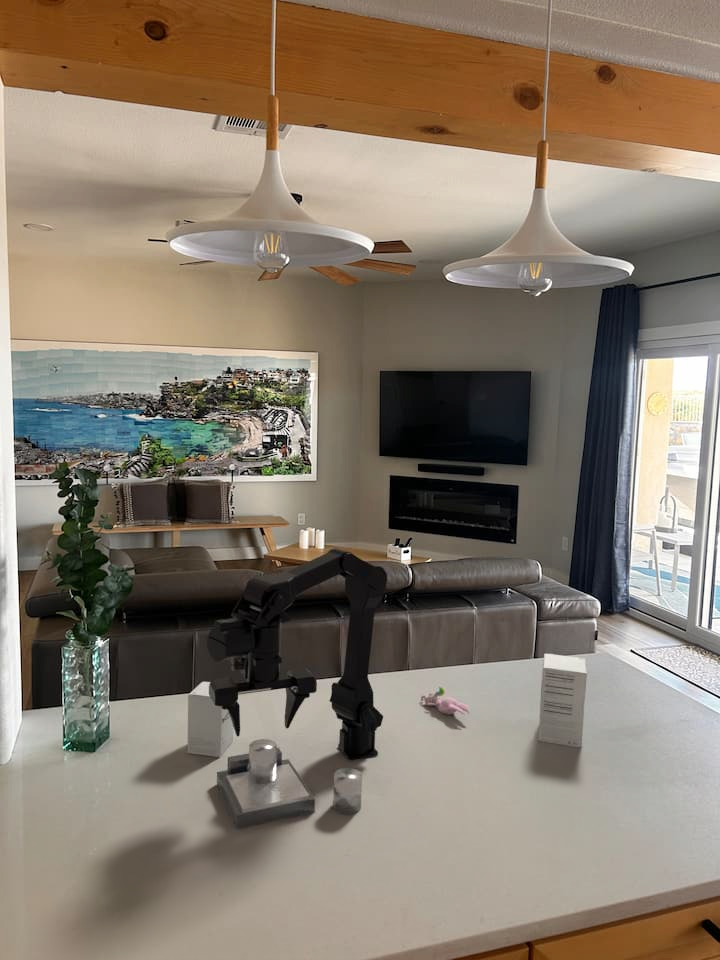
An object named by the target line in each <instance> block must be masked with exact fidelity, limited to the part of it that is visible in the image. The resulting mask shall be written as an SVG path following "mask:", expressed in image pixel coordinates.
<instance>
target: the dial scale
mask: <svg viewBox="0 0 720 960" xmlns="http://www.w3.org/2000/svg"><path fill="white" fill-rule="evenodd" d="M216 785H217V787H218V790H219V792H220V795H221V797H222V799H223V801H224V803H225V806H226V808H227V810H228V812H229V815H230V816H231V819H232V821H233V824H234V826H235V828H236V829H242V828H248V827H253V826H256V825H262V824H265V823H270V822H274V821H279V820H283V819H288V818H292V817H297V816H298V817H299V816H302V815H307V814H311V813H315V811H316V808H315V807H316V798H315V797H314V795H313V794H312V792H311V790H310V789H309V788H308V787H307V784H306V783H305V781H304V780H303V779H302V777H301V776H300V774H299V773H298V771H297V770H296V768H295V767H294V765H293V764H292V762H291V760H290V759H288V758H286V759H283V752H282V751H281V749H280V747H277V763H276V779H275V780H274V781H272V782H270V783H266V784H257V783H253V782H252V781H250V780H249V752H248V753H244V754H238V755H231V756H227V770H222V771H216Z"/></svg>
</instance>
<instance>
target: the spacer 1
mask: <svg viewBox="0 0 720 960" xmlns="http://www.w3.org/2000/svg"><path fill="white" fill-rule="evenodd" d="M249 743H250V742H249ZM277 745H278V744H277V742H276V741H274V740H272V739H268V738H266V739H265V738H261V739H256V740H253V741H252V742H251V743H250V744H249V745H248V746H249V748H248V753H249V780H250V781H252V782H253V783H257V784H266V783H270V782H272V781H274V780H275V779H276V763H277V748H278V746H277Z"/></svg>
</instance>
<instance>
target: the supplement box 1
mask: <svg viewBox="0 0 720 960" xmlns="http://www.w3.org/2000/svg"><path fill="white" fill-rule="evenodd" d="M210 682H211V681H202V682H200V683H199V684H198V685H197V686H196V687H195V688H194V689H193V690H192V691H191V692H189V694H188V695H187V698H188V699H187V750H186V751H187V754H193V755H201V756H205V757H207V756H208V757H214V758H221V756H222V755H223V754H224V752H225V751H226V749H228V747H229V746H230V745H231V744H232V742H233V741H234V727H233V724H232V720H231V717H230V714H229V712H228V710H224V709H222V707H221V706H215V704H214V703H213V701H212V699H211V697H210V695H209V684H210Z"/></svg>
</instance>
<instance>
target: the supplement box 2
mask: <svg viewBox="0 0 720 960" xmlns="http://www.w3.org/2000/svg"><path fill="white" fill-rule="evenodd" d="M542 661H543V663H542V670H541V671H542V672H541V673H542V674H541V687H540V688H541V690H540V705H539V706H540V707H539V723H538V724H539V725H538V742H544V743H550V744H555V745H562V746H570V747H575V748H582V746H583V732H584V731H583V730H584V717H585V700H586V691H587V690H586V689H587V677H588V672H587V666H586V665H587V662H586V661H587V659H586V658H584V657H576V656H569V655H568V656H567V655H561V654H555V653H543V660H542Z"/></svg>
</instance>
